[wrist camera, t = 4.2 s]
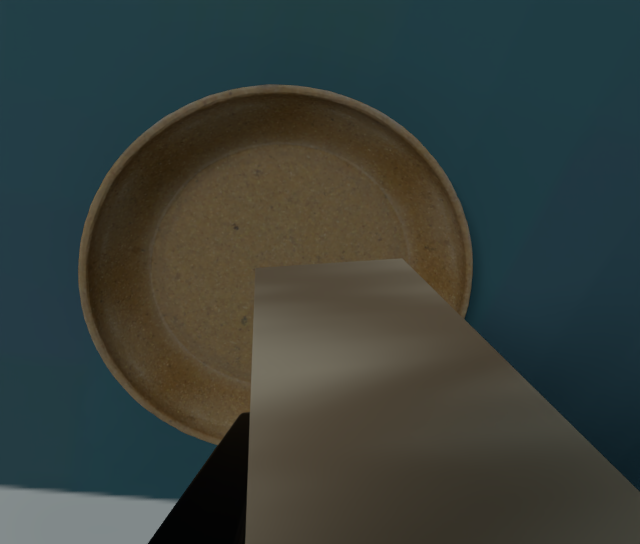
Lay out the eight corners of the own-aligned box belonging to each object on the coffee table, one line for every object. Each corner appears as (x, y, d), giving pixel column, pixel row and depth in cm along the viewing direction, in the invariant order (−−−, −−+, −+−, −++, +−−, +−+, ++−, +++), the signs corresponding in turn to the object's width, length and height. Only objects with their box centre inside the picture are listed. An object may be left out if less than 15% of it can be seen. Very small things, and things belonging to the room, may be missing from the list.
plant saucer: (361, 448, 23) (373, 488, 20) (63, 363, 19) (33, 399, 17) (508, 182, 19) (544, 191, 16) (167, 16, 15) (148, -3, 13)
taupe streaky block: (402, 258, 9) (1100, 946, 2) (394, 453, 11) (709, 1239, 3) (255, 267, 9) (220, 1202, 1) (271, 468, 10) (300, 1381, 3)
